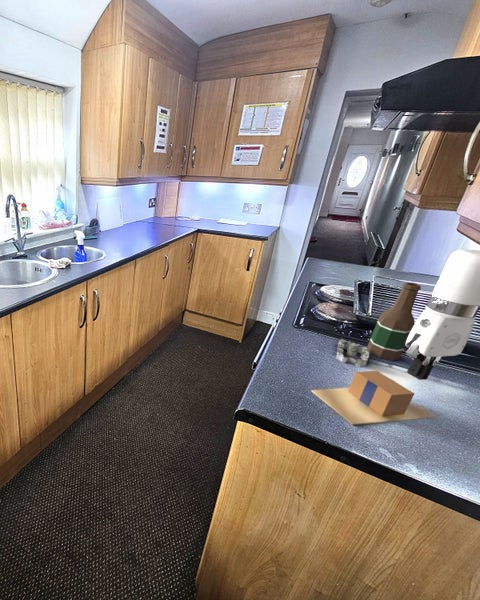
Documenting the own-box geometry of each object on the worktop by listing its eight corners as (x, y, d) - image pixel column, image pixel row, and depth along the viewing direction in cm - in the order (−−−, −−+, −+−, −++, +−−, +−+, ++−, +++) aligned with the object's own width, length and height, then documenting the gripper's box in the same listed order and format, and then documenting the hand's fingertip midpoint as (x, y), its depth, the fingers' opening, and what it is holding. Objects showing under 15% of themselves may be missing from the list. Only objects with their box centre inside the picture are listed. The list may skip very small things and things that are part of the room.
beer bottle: (368, 347, 105) (396, 277, 96) (400, 357, 100) (434, 284, 90) (362, 356, 101) (391, 283, 91) (395, 367, 95) (430, 291, 86)
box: (376, 370, 82) (355, 371, 82) (414, 393, 74) (391, 395, 73) (368, 390, 85) (347, 391, 84) (404, 414, 76) (381, 416, 76)
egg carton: (364, 371, 93) (369, 359, 91) (332, 361, 98) (336, 350, 96) (366, 355, 100) (371, 344, 99) (337, 347, 105) (341, 336, 103)
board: (385, 385, 87) (386, 384, 87) (436, 418, 76) (436, 416, 76) (311, 391, 84) (311, 390, 84) (352, 425, 73) (353, 423, 73)
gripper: (442, 315, 67) (405, 387, 74) (502, 313, 69) (460, 384, 76) (404, 300, 74) (374, 368, 81) (460, 299, 76) (425, 365, 83)
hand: (416, 376), depth 79 cm, fingers closed
